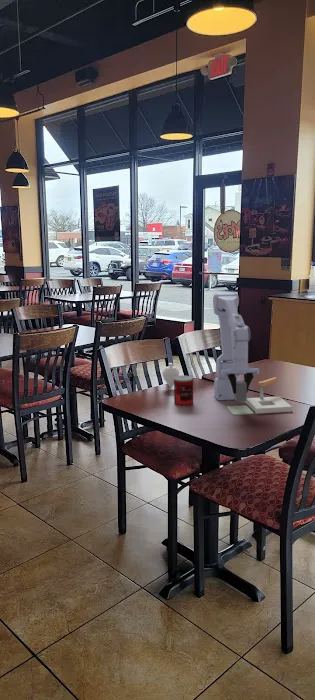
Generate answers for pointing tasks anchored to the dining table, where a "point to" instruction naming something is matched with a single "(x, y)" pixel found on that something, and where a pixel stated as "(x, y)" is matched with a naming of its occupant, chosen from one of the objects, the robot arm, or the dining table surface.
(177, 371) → the spinning top
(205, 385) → the dining table surface
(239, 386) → the gray rectangular block
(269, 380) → the bar
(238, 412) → the mat
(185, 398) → the canned food
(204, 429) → the dining table surface
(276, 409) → the socket block
